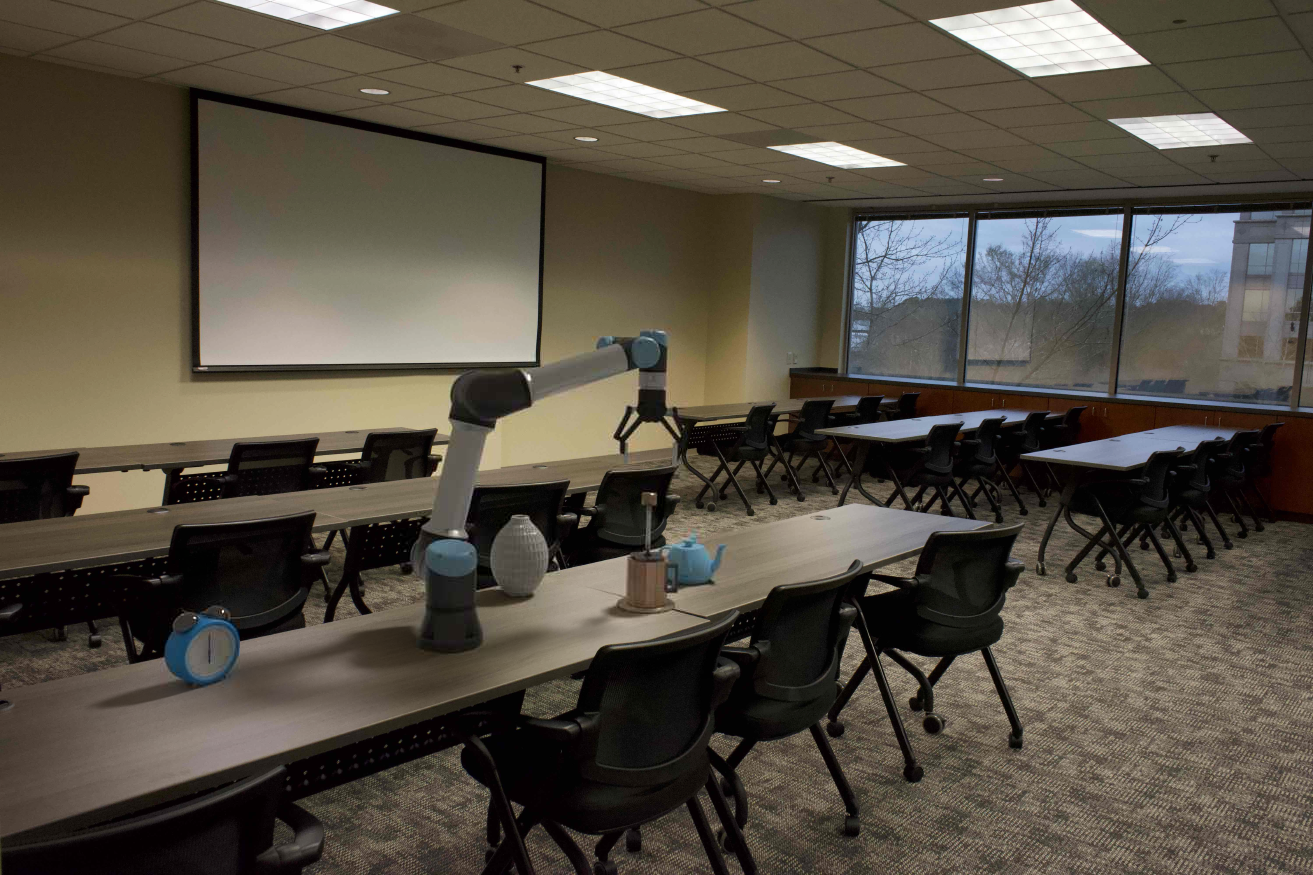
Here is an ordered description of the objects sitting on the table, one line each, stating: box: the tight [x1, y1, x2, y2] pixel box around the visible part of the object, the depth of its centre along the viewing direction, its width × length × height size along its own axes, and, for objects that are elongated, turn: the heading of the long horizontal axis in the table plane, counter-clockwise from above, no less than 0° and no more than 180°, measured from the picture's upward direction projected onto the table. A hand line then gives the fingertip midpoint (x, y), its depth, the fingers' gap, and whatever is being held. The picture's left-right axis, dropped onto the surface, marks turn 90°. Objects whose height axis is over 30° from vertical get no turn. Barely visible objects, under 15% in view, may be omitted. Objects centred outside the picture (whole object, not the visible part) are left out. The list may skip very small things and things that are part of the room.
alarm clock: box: [164, 605, 241, 689], centre depth 189 cm, size 13×6×15 cm, turn 148°
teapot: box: [658, 533, 729, 585], centre depth 285 cm, size 17×19×12 cm
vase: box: [489, 514, 549, 597], centre depth 263 cm, size 16×16×22 cm
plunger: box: [641, 491, 658, 562], centre depth 254 cm, size 7×7×20 cm
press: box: [616, 551, 679, 614], centre depth 255 cm, size 16×16×14 cm
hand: (649, 466), depth 252 cm, fingers open, 13 cm apart
